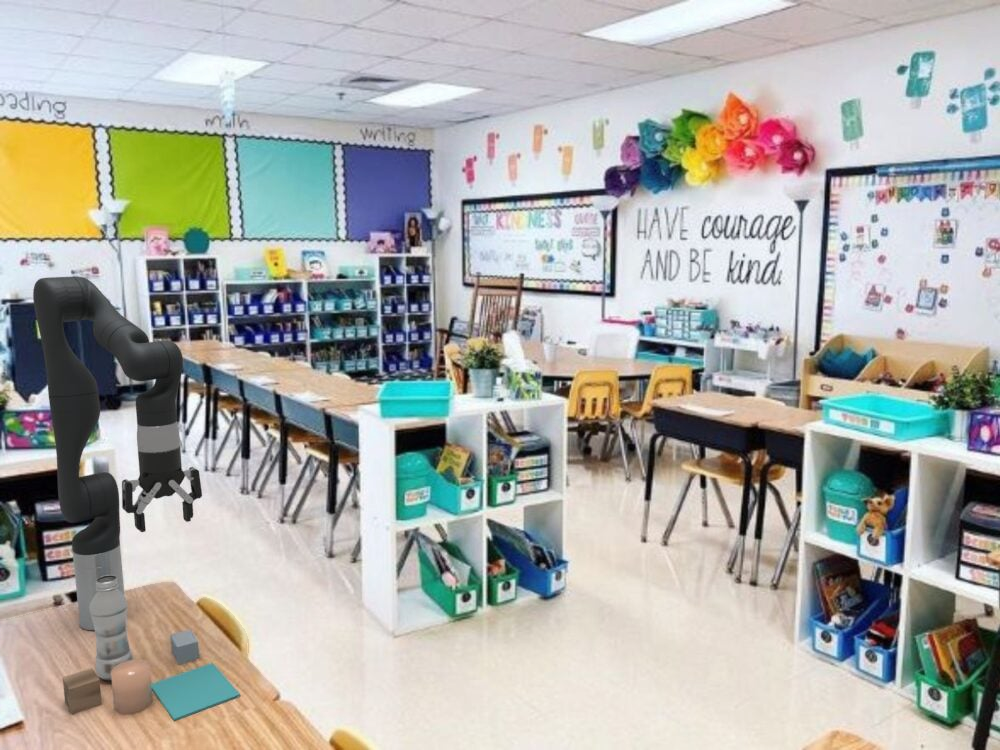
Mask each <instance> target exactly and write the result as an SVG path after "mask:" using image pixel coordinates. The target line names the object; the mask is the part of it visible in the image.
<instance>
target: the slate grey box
mask: <svg viewBox="0 0 1000 750" xmlns="http://www.w3.org/2000/svg"><path fill="white" fill-rule="evenodd" d="M169 635H170V636H169V637H170V639H169V640H170V651H171V654H172V656H173V658H174V659H175V661H176V663H177V665H178V666H181V665H183V664H187V663H191V662H194V660H195V661H197V659H198V660H200V653H199V651H200V648H199V641H198V639H197V638H196V636H195V634H194V632H193V631H192V629H185V630H183V631H182V630H181V631H178V632H174V633H171V634H169Z"/></svg>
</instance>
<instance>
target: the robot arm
mask: <svg viewBox="0 0 1000 750" xmlns="http://www.w3.org/2000/svg"><path fill="white" fill-rule="evenodd" d="M32 294H33V295H32V296H33V297H32V298H33V307H34V312H35V318H36V322H37V327H38V332H39V336H40V340H41V344H42V350H43V351H42V352H43V355H44V356H43V357H44V364H45V371H46V381H47V382H46V383H47V392H48V401H49V408H50V410H49V411H50V415H51V423H52V427H53V430H52V431H53V435H54V443H55V452H56V453H55V455H56V467H57V468H56V470H57V492H58V493H57V494H58V495H57V496H58V504H59V507H60V509H59V510H60V512H61V514H62V517H63V518H64V520H65V521H66V522H68V523H72V524H74V523H80V522H84V521H88V520H92V519H94V520H93V521H92V522H91V523H90V524H89V525H88V526H86V527H84V528H83V529H81V530H80V531H78V532H77V533H76V534H74V535H73V538H71V539H72V540H71V548H72V558H73V559H72V561H73V570H74V579H75V588H76V589H75V590H76V597H77V598H76V599H77V611H78V620H79V622H78V623H79V627H80V628H81V629H82V630H85V631H87V630H88V631H95V628H94V624H93V620H92V617H91V613H90V603H91V601H92V599H93V598H94V596H95V595H96V593H97V592H98V591H96V579H97V578H99V577H101V576H105V575H115V576H117V581H118V588H117V589H118V590H119V591H120V592H121V593H122V594H123V595H124V596H125V585H124V584H125V583H124V573H123V562H122V553H121V540H120V538H121V537H120V536H121V523H120V522H121V520H120V519H121V518H120V517H121V516H120V492H119V487H118V483H117V481H116V478H115V477H114V476H113V474H111V473H110V472H107V471H106V472H103V471H102V472H97V473H93V474H87V475H84V476H80V464H81V459H82V455H83V452H84V449H85V448H86V446H87V444H88V441H89V439H90V437H92V436H91V435H92V434H93V431H95V428H96V426H97V424H98V421H99V418H100V415H101V404H100V396H99V386H98V383H97V380H96V378H95V377H94V376H93V374H92V373H91V371H90V370H89V369H88V368H87V367H86V365H85V364H84V363H83V361H82V360H80V359H79V358H78V356H77V355H76V354H75V353H74V351H73V349H72V348H71V346H70V345H69V342H68V340H67V337H66V334H65V331H64V329H65V328H64V323H69V322H79V321H83V320H87V321H91V322H93V325H92V328H93V329H92V331H93V335H94V338H95V339H96V341H97V343H98V344H99V345H100V346H101V347H102V348H104V349H105V350H106V351H107V352H109V353H110V354H111V355H113V356H114V357H115V358H116V360H117V362H118V364H119V366H120V367H121V370H122V371H123V373H124V375H125V376H126V377H127V378H128V379H130V380H133V381H135V382H147V381H153V380H154V381H155V382H154V384H153V386H152V387H151V388H149V389H148V390H146V391H143V392H141V393H139V394H138V395H137V396H136V397H135V413H136V425H137V428H136V442H137V443H136V446H137V457H138V469H139V475H138V476H139V477H138V478H137V479H132V480H128V479H127V478H126V479H122V481H121V503H122V504H121V507H122V510H123V511H125V513H127V514H133V519H134V526H135V528H136V529H137V530H138V531H139V532H140V533H145V532H146V531H147V530H146V517H145V516H146V515H145V513H144V511H145V509H146V508H147V506H148V505H149V504H151V502H152V500H153V499H156V500H158V499H162V498H163V497H172V496H174V494H177V495H178V497H180V498H181V499H182V500H183V501H182V502H181V503H182V516H183V521H185V522H186V523H188V522H191V521H192V520H191V519H192V518H194V505H193V504H194V501H195V500H198V499H201V498H202V496H203V492H202V484H201V476H200V470H198V469H197V468H196V467H193V466H191V467H189V468H188V469H186V470H183V468H182V467H183V465H182V453H181V437H180V430H179V425H178V416H177V415H178V414H177V402H176V401H177V396H178V393H179V392H178V391H179V386H180V381H181V377H182V374H183V373H182V372H183V367H184V357H183V354H182V351H181V349H180V347H179V346H178V344H176V343H175V342H174V341H172V340H165V339H164V340H156V341H150V338H149V336H148V335H147V334H146V332H145V331H144V330H143V329H141V328H140V327H139V326H138V325H136V324H135V323H133V322H132V321H130V320H129V319H127V318H126V317H125V316H123V315H122V314H121V313H120V312H119V311H118V310H117V309H116V307H114V305H113V304H112V303H111V302H110V301H109V299H108V298H107V297H106V296H105V294H104V293H103V292H102V291H101V290H100V289H99V288H98V287H97V286H96V285H95V284H94V283H93V282H92V281H91V280H90V279H88V278H86V277H82V276H53V277H42V278H39V279H37V281H36V282H35V283H34V286H33V292H32ZM185 478H186V479H187V480H188V481H189V483H190V490H191V492H189V493H188V492H187V491H186V490H185V489H184V488H183V487H182V486H180V485H181V484H182V482H183V481H184V479H185ZM138 486H139V487H140V489H142V490H141V492H140V493H139V495H138V497H137V500H136V501H135V502H134V499H133V497H134V496H133V495H134V494H133V493H134V492H135V491H136V489H137V487H138ZM125 597H126V596H125Z"/></svg>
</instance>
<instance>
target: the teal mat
mask: <svg viewBox="0 0 1000 750" xmlns="http://www.w3.org/2000/svg"><path fill="white" fill-rule="evenodd" d="M151 686H152V693H154V694H155V696H156V697H157V699H158V701H160V703H161V704H162V706H163V708H165V710H166V712H167V713H168V714H169V716H170V717H171V718H172V720H173V722H176V721H177V720H180V719H184V718H185V717H188V716H192V715H194V714H196V713H199V712H201V711H202V712H203V711H204V710H207V709H210V708H213V707H215V706H218V705H220V704H223V703H226V702H229V701H231V700H234V699H237V698H239V697H241V693H240V692H239V690H237V688H236V687H235V686H234V685H233V684H232V683H231V682H230V681H229V680H228V679H227V677H226V675H224V674H223V673H222V672H221V670H219V669H218V667H217V666H216V665H215V664H214V663H213V662H211V663H208V664H205V665H201V666H198V667H196V668H193V669H189V670H187V671H183V672H182V673H179V674H176V675H172V676H170V677H167V678H164V679H161V680H158V681H155V682H151ZM238 696H239V697H238ZM236 697H237V698H236Z"/></svg>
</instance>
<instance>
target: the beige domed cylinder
mask: <svg viewBox="0 0 1000 750" xmlns="http://www.w3.org/2000/svg"><path fill="white" fill-rule="evenodd" d="M111 679H112V680H111V686H112V687H111V689H112V697H113V698H112V700H113V709H114V711H115V713H118V714H120V715H133V714H136V713H139V712H142V711H144V710H146V709H148V708H149V707H150V706H151V705H152V703H153V700H154V699H153V690H152V686H151V684H152V674H151V665H150V662H149V661H148V660H145V659H140V658H139V659H136V658H135V659H133V660H129V661H125V662H123V663H120V664H118V665H117V666H115V667H114V668H113V669H112V671H111Z"/></svg>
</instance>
